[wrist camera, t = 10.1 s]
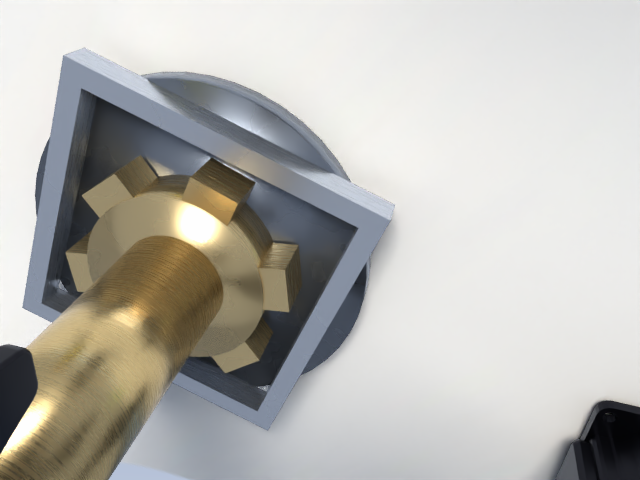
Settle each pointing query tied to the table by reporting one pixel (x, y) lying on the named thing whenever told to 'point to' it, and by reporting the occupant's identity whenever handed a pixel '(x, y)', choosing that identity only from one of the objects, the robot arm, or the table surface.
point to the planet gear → (148, 313)
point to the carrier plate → (265, 199)
